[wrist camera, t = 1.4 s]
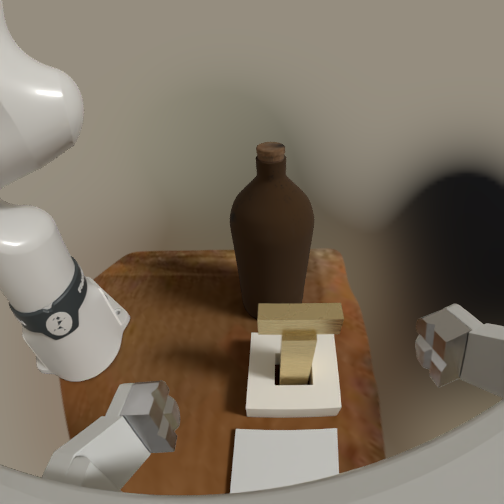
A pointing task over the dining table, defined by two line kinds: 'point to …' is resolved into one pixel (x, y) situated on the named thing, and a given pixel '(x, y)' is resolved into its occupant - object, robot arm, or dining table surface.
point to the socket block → (292, 396)
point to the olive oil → (271, 233)
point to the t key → (298, 334)
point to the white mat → (282, 458)
